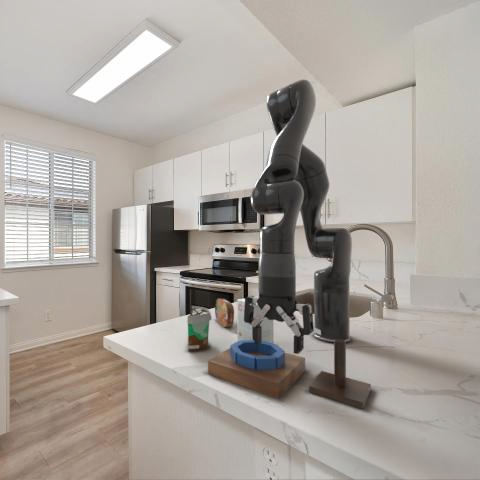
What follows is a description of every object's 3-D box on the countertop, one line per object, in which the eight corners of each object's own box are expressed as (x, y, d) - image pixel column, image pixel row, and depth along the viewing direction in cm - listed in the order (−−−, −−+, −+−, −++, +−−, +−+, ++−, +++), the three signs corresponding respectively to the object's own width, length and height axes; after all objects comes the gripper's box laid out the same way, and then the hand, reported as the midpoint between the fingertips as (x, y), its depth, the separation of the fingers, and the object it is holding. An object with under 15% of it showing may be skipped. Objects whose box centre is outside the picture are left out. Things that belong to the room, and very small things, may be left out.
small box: (274, 350, 81) (273, 302, 80) (254, 354, 78) (254, 304, 78) (255, 341, 88) (254, 297, 88) (236, 343, 86) (236, 298, 86)
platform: (241, 352, 80) (241, 341, 80) (305, 370, 69) (305, 357, 69) (208, 373, 68) (207, 360, 68) (278, 398, 57) (278, 383, 57)
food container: (211, 355, 78) (210, 317, 78) (187, 353, 79) (187, 316, 79) (212, 339, 90) (212, 306, 90) (192, 337, 91) (191, 305, 91)
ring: (245, 346, 76) (245, 336, 76) (290, 358, 69) (290, 347, 69) (222, 359, 68) (222, 349, 68) (271, 375, 60) (271, 363, 60)
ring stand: (321, 376, 66) (321, 330, 66) (370, 389, 60) (370, 339, 60) (308, 391, 59) (308, 341, 59) (362, 409, 53) (362, 352, 53)
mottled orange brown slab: (214, 318, 113) (214, 296, 113) (222, 317, 113) (222, 295, 113) (226, 330, 98) (226, 305, 98) (235, 330, 98) (235, 304, 98)
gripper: (317, 274, 63) (317, 351, 63) (253, 269, 72) (253, 336, 73) (305, 278, 57) (305, 362, 57) (238, 272, 67) (238, 344, 67)
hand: (276, 347), depth 65 cm, fingers open, 8 cm apart
